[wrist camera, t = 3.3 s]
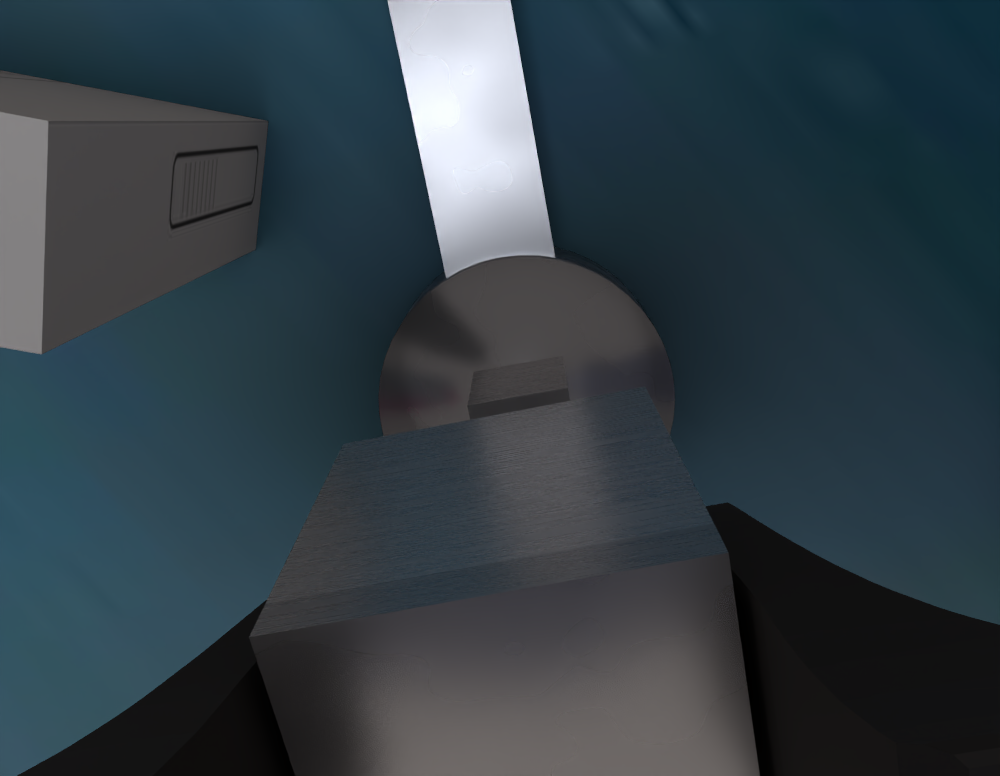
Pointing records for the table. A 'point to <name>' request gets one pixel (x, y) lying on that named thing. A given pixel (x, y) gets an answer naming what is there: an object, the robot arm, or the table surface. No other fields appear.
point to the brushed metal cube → (510, 606)
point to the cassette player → (114, 203)
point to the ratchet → (498, 247)
